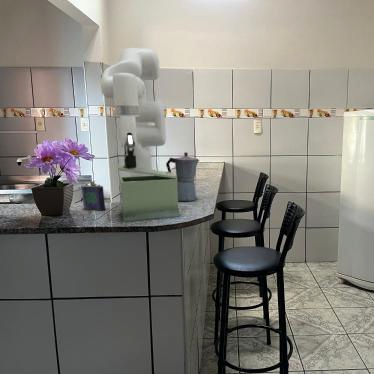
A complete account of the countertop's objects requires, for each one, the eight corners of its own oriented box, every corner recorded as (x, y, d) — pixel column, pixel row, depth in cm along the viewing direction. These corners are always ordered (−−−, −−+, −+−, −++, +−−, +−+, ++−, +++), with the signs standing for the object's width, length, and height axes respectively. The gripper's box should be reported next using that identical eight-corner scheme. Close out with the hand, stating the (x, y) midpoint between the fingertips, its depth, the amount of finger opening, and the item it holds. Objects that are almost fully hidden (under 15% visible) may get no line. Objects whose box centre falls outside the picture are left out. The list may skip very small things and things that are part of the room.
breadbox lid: (118, 170, 114) (120, 155, 113) (116, 166, 127) (118, 152, 127) (176, 178, 121) (179, 164, 121) (169, 174, 134) (171, 161, 134)
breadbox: (123, 221, 116) (121, 182, 114) (121, 212, 130) (119, 177, 128) (178, 216, 123) (177, 178, 121) (171, 208, 136) (169, 174, 134)
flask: (82, 209, 136) (79, 181, 135) (87, 207, 139) (85, 180, 138) (102, 210, 134) (100, 182, 132) (107, 209, 136) (105, 181, 135)
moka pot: (206, 198, 155) (204, 152, 152) (175, 204, 144) (173, 153, 141) (193, 196, 161) (191, 151, 158) (162, 201, 151) (160, 153, 148)
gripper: (113, 113, 126) (117, 165, 128) (116, 110, 110) (120, 169, 113) (136, 113, 128) (139, 164, 131) (141, 111, 113) (145, 168, 115)
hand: (130, 166), depth 122 cm, fingers closed on breadbox lid, 6 cm apart
